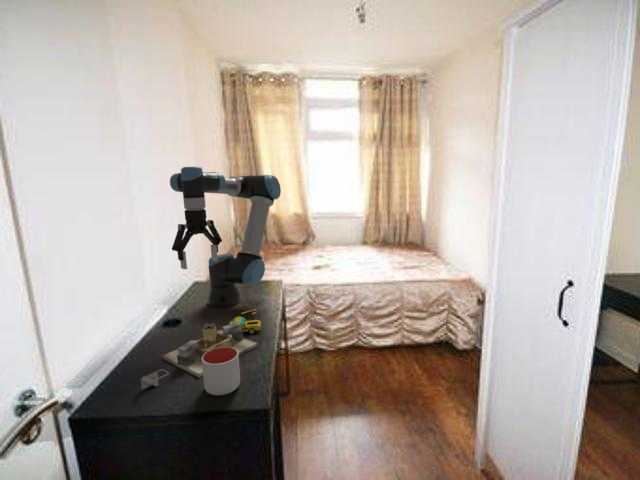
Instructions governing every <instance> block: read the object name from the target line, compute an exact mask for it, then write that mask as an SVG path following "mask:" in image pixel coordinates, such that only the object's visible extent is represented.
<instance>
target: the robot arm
mask: <svg viewBox="0 0 640 480" xmlns="http://www.w3.org/2000/svg"><path fill="white" fill-rule="evenodd" d="M169 185H170V188H171V189H172V190H173V191H174V192H178V193H182V197H183V207H184V209H185V210H184V220H185V223H184V224H183V223H178V224H177V232H176V235H175V238H174V241H173V244H172V247H171V251H174V252H177V258H178V261H180V269H182V270H187V269H188V265H187V253H186V251H185V249H186V247H187V245H188V244H189V242H190V240H191V238H192V237H194V235H198V234H199V235H200V234H201V235H202V234H203V236H205V238H207V239H208V241H209V242H211V244H210V253H211V254H210V255H211V256H210V258H209V259H208V272H209V273H208V274H209V284H210V291H209V294H208V298H207V304H208V306H210V307H213V308H227V307H231V306H234V305H237V304H239V303H240V302H241V295H240V292H239V290H238V288H237V285H236V284H243V285H257V284H258V283H259V282H261V281H262V279H263V277H264V275H265V271H266V267H265V266H266V265H265V262H264V261H263V256H262V255H261V254H260V253H261V249H262V244H263V239H264V235H265V230H266V226H267V221H268V220H267V219H268V216H269V211H270V207H272V206H273V205H274V202H275V200H277V199H279V198H280V196H281V193H282V191H281V190H282V188H281V184H280V181H279V179H278V178H277V177H276V175H272V174H265V175H263V174H261V175H260V174H259V175H258V174H257V175H243V176H241V175H240V176H230V177H225V175H223V173H221V172H218V171H209V172H207V171H205V172H204V171H203V167H201V166H183V167H182V168H181V169H180V172H178V173H177V172H176V173H173V174H172V175H171V176H170V178H169ZM205 194H218V195H219V194H220V195H228V196H229V197H235V198H240V199H241V198H242V199H247V200H249V201H250V202H251V206H250V210H249V214H248V219H247V224H246V228H245V232H244V237H243V241H242V246H241V250H239V251H238V252H237V253H236V257H235V255H234V253H232V252H231V253H223V254H222V253H221V254H218V253H219V245H220V243H222V242H223V239H222V237H221V236H220V233H219V231H218V230H217V228H216V226H215V223H214V220H212V219H207V210H206V209H205V208H206V206H207V205H206V196H205ZM206 219H207V220H206ZM207 227H208V229H207Z"/></svg>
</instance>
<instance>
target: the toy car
mask: <svg viewBox="0 0 640 480" xmlns="http://www.w3.org/2000/svg"><path fill="white" fill-rule="evenodd" d="M252 311H254V312H252ZM249 312H252V313H251V315H255V314H257V312H258V310H257V309H251V310H248V311H244V312H240V313H241V314H245V313H249ZM237 322H239V323H240V324H241V327H242V332H243V333H245V332H248V334H250V335H253V334H255V332H257V331H258V332H259V331H260V330H261V328H262V326H261V325H262V322H261V320H259V319H253V320H248V317H243V316H237V317H236V316H235V317H234V318H233V319H232V320H231V321H229V324H228V325H230V324H233V323H237Z"/></svg>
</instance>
